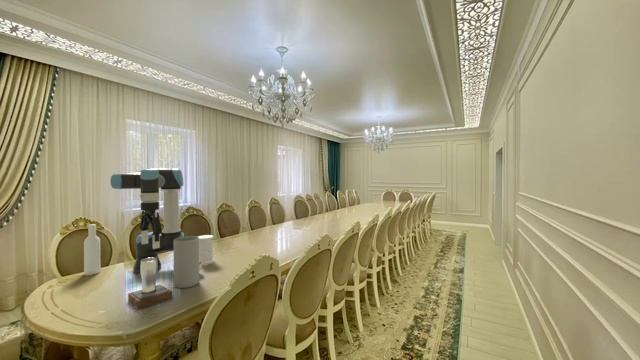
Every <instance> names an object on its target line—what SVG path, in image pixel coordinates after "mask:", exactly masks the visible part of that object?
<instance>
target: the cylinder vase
mask: <svg viewBox="0 0 640 360" xmlns="http://www.w3.org/2000/svg"><path fill="white" fill-rule="evenodd" d="M199 282H200V272H199V237H198V236H194V235H193V236H189V235H188V236H184V237H180V238H176V239H174V251H173V287H175V288H177V289H186V288H190V287H191V288H192V287H193V286H194V287H195V286H196V285H197V284H199Z"/></svg>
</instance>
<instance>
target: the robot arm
mask: <svg viewBox="0 0 640 360" xmlns="http://www.w3.org/2000/svg"><path fill="white" fill-rule="evenodd" d="M110 186H111V188H112V189H114V190H128V189H129V190H131V189H133V190H137V189H138V190H139V189H140V195H139V198H140V202H141V203H140V211H141V217H140V222H139V230H140V231H141V233H140V234H139V235H137V236H136V240H135V241H136V242H135V246H136V248H135V249H136V251H135V252H136V259H135V262H134V265H133V268H132V272H133V273H134V274H141V272H140V266H141V260H143V259H146V258H157V271H158V270H161V268H162V262H161V260H160V257H159V253H165V252H166V253H167V252H174V239H176V238H180V237H185V233H184V232H182V228H180V226H179V225H180V224H179V222H180V221H179V220H180V219H179V217H180V216H179V206H180V205H179V192H180V190H182V187H183V186H184V175H183V172H182V170H181V169H180V168H157V167H155V168H148V169H141V170H139V171H137V172H130V173H114V174H112V175H111V176H110ZM160 191H162V192H163V197H162V198H163V200H162V201H163V229H162V225H161V221H160V212H156V211H158V210H159V209H160V202H159V201H160ZM149 226H150V227H151V230H152V231H150V232H149V230H150V229H149Z"/></svg>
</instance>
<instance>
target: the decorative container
mask: <svg viewBox="0 0 640 360" xmlns="http://www.w3.org/2000/svg"><path fill="white" fill-rule="evenodd" d="M197 237H199V260H201V261H202V266H207V265H208V266H209V265H211V264H212V265H213V264H214V263H215V259H214V254H213V253H214V250H213V248H214V245H213V243H214V241H213V239H214V235H212V234H204V235H198V236H197Z"/></svg>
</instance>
